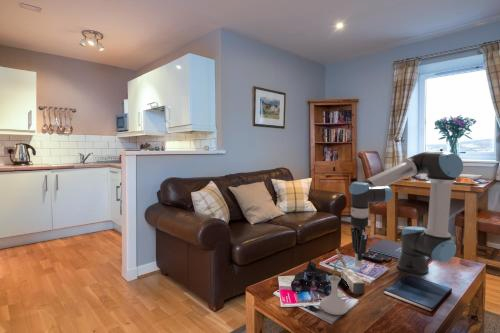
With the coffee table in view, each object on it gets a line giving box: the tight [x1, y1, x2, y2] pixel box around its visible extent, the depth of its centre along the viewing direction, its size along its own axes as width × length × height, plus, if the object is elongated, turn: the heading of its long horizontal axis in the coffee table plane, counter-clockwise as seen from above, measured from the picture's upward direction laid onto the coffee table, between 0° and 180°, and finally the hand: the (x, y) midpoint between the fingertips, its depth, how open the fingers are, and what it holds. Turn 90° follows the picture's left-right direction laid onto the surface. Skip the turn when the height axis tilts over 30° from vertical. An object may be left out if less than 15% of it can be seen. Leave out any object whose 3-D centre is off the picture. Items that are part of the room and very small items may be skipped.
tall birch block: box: [340, 268, 366, 295], centre depth 140 cm, size 5×5×15 cm
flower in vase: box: [319, 248, 349, 316], centre depth 120 cm, size 13×11×25 cm
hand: (358, 266), depth 134 cm, fingers closed
